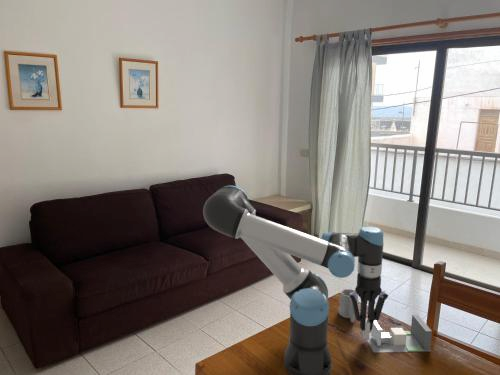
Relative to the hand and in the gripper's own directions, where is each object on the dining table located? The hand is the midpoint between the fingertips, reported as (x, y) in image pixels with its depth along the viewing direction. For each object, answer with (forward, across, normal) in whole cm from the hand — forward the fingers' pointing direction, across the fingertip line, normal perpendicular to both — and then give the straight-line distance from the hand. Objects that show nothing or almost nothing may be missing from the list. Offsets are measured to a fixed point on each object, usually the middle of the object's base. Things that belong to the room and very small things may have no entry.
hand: (365, 337), depth 131 cm
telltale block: (+2, +11, 0) cm, 11 cm away
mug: (+3, -1, +17) cm, 17 cm away
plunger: (+1, +6, 0) cm, 6 cm away
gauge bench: (+3, +10, 0) cm, 11 cm away
